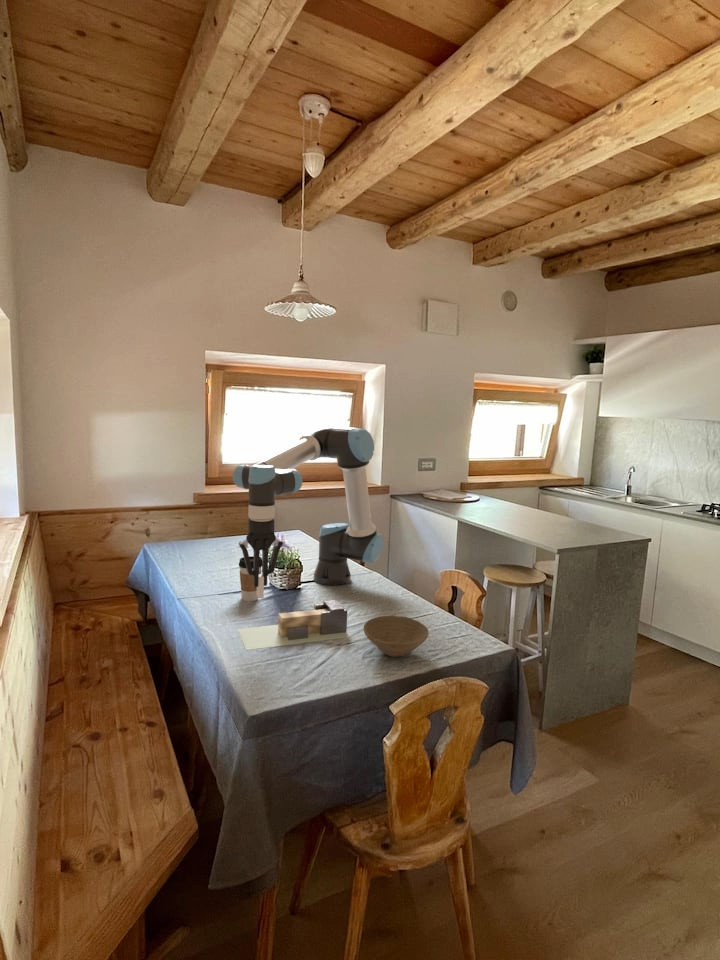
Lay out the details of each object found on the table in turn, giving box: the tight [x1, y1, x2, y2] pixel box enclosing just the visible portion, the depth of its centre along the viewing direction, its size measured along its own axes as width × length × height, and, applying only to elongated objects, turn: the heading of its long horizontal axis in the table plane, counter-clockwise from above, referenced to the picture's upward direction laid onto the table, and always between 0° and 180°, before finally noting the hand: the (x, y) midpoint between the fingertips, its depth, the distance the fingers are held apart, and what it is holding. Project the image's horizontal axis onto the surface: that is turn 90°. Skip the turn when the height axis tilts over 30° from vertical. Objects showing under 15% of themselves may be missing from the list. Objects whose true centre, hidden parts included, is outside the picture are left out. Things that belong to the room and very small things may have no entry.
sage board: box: [237, 624, 352, 651], centre depth 163 cm, size 32×15×1 cm, turn 112°
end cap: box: [313, 599, 348, 635], centre depth 167 cm, size 8×8×8 cm
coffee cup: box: [238, 555, 262, 602], centre depth 190 cm, size 8×8×15 cm
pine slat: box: [277, 609, 330, 637], centre depth 164 cm, size 18×4×6 cm, turn 112°
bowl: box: [363, 615, 429, 658], centre depth 152 cm, size 18×18×8 cm
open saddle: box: [288, 625, 308, 640], centre depth 163 cm, size 6×9×4 cm, turn 23°
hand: (260, 596), depth 157 cm, fingers closed
